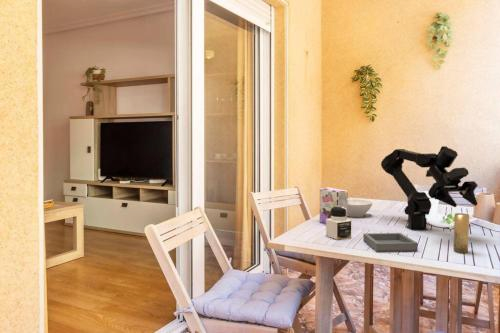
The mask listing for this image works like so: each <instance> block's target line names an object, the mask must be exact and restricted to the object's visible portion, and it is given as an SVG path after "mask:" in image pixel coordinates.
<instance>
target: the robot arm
mask: <svg viewBox="0 0 500 333" xmlns="http://www.w3.org/2000/svg"><path fill="white" fill-rule="evenodd" d="M458 156H459V154H458V152H457V151H456V150H454V149H452V148H449V147H447V145H444V146H441V147H440V149H439V151H438V154H437V153H421V152H415V151H412V150H411V151H410V150H407V149H405V148H396V149H394V150H393V151H392V152H390V153H389V154H388V155H386V156H385V157H384V158H383V159H382V160H381V163H380V166H381V169H383V171H384V172H385V173H386V174H388V175H390V176H392V177H393V178H394V180H395V182H396V183H397V185H398V186H399V187H400V189H401V190H402V191H403V193H404V194H405V196H406V197H407V201H406V202H407V205H406V206H405V208H404V210H403V211H404V214H405V215H408V216H407V225H406V228H408V229H410V230H412V231H427V230H428V228H427V216H426V215H429V214H430V211H431V209H432V202H431V200H430V199H434V200H438V201H440V202H442V203H444V204H447V205H449V206H451V207H453V208H457V205H458V204H457V203H456V201H455V200H454V198H453V197H452V196H451V194H450V193H458V194H459V195H460V196H462V197H461V198H463V199H464V200H465V201H467V202H468V203H470V204H472V206H475V207H476V206H477V205H478V202H477V201H478V200H477V198H476V196H475V190H476V188H477V187H478V184H477V183H476V182H475V181H474V180H472V181H471V180H470V181H469V180H468V181H463V183H462V184H461V182H462V179H464V178H466V177H467V176H469V173H470V172H469V169H467V168H466V167H455V168H452V169H451V170H449V171H448V170H447V169H446V168H450V167H451V166H452V165H453V164H454V162H455V160H456V159H457V157H458ZM405 160H406V161H409V162H413V163H415V164H416V165H417V166H418V167H420V168H423V169H424V168H429V169H427V170H426V174H425V177H426V178H429V177H430V178H431V177H432V179H433V180H434V181H435V182H434V183H432V185H431V187H430V188H429V189H428V195H427V193H426V192H425V191H420V192H419V190H417V189H416V188H417V187H415V186H414V184H413V183H412V181H410V179H409V177H408V176H407V175H406V174H405V172H404V171H403V164H404V163H405ZM459 184H461V185H459Z"/></svg>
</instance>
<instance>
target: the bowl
mask: <svg viewBox="0 0 500 333" xmlns="http://www.w3.org/2000/svg"><path fill="white" fill-rule="evenodd" d="M372 206H373V202H372V201H370V200H365V199H351V198H350V199H347V217H351V218H362V217H364V216H365V214H366V213H367V212H369V211H370V209H371V207H372Z"/></svg>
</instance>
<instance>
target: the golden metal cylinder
mask: <svg viewBox="0 0 500 333" xmlns="http://www.w3.org/2000/svg"><path fill="white" fill-rule="evenodd" d="M453 226H454V227H453V252H454V253H456V254H457V253H458V254H469V234H470V232H469V231H470V214H468V213H462V212H457V213H454V225H453Z"/></svg>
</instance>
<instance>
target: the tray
mask: <svg viewBox="0 0 500 333" xmlns="http://www.w3.org/2000/svg"><path fill="white" fill-rule="evenodd" d="M363 242H364V244H366V243H367V244H368V245H369V246H368V247H370V248H371V249H372V250H373V251H374V250H375V251H374V252H376V253H405V252H406V253H407V252H410V253H413V252H412V251H418V250H419V248H418V247H419V246H418V245H419V243H418V242H417V241H415V240H413V239H412V238H410V237H408V236H407V235H405V234H403V233H402V232H384V233H383V232H378V233H377V232H375V233H374V232H373V233H365V232H364V233H363ZM367 244H366V245H367Z"/></svg>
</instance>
